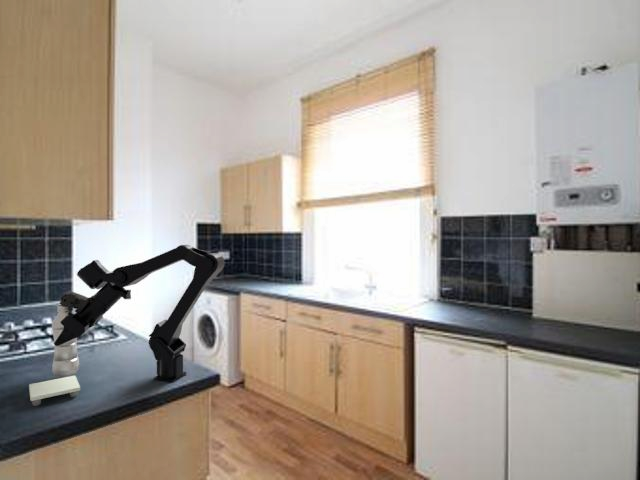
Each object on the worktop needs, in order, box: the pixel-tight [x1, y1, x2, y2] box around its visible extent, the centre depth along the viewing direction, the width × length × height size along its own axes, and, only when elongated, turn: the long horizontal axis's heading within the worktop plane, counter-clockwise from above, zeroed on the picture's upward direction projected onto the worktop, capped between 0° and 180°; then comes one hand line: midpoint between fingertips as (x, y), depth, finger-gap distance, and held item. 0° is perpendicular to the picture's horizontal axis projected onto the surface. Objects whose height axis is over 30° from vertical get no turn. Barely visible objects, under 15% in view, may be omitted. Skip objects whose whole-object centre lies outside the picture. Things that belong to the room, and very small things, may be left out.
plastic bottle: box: [51, 303, 80, 378], centre depth 107 cm, size 6×7×20 cm
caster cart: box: [28, 375, 81, 407], centre depth 96 cm, size 10×10×2 cm
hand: (59, 341), depth 106 cm, fingers closed on plastic bottle, 6 cm apart
